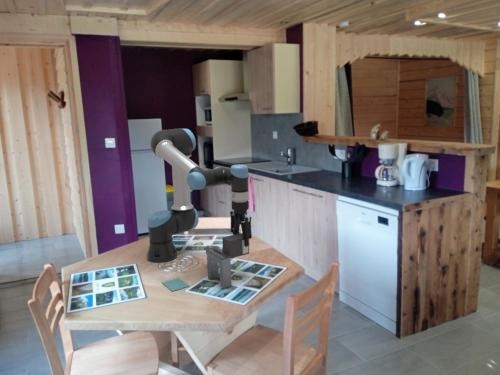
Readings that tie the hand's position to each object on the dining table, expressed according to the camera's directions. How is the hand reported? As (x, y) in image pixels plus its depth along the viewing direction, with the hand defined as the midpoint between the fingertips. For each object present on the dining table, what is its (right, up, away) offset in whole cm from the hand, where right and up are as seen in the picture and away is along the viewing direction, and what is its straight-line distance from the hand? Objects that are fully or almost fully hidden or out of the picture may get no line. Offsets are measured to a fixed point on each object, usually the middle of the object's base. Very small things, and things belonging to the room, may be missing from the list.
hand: (241, 250), depth 185 cm
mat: (-28, -14, -6) cm, 32 cm away
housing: (-9, -13, -5) cm, 17 cm away
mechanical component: (-12, -10, +12) cm, 20 cm away
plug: (-2, -1, -1) cm, 3 cm away
